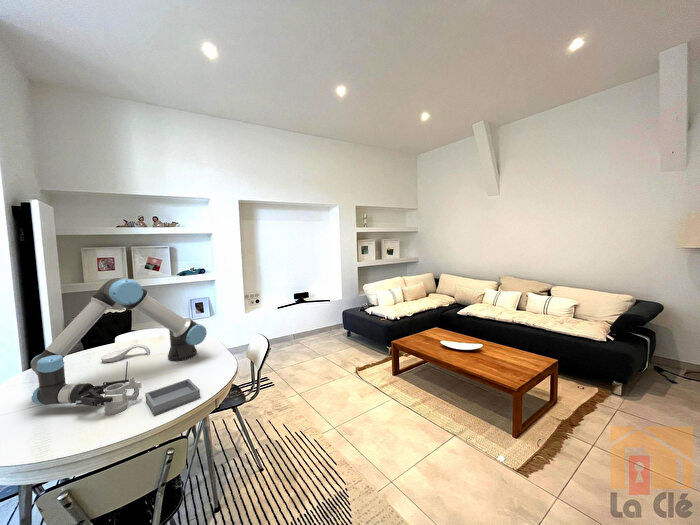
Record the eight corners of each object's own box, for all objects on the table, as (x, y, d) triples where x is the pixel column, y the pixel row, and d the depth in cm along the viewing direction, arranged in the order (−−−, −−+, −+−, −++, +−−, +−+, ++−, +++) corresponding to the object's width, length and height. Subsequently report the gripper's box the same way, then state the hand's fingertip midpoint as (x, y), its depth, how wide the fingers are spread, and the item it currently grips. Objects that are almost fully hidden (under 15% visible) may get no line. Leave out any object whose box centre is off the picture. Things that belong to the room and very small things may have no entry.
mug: (103, 410, 115) (100, 382, 115) (138, 398, 124) (136, 372, 123) (106, 417, 110) (103, 388, 110) (142, 404, 119) (140, 377, 118)
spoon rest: (98, 366, 160) (97, 354, 160) (104, 359, 171) (103, 347, 170) (148, 357, 171) (147, 346, 171) (151, 351, 182) (150, 340, 181)
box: (189, 386, 133) (188, 378, 133) (200, 398, 123) (199, 389, 122) (145, 402, 121) (145, 393, 121) (154, 416, 110) (153, 406, 110)
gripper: (101, 388, 128) (150, 386, 128) (50, 418, 105) (110, 416, 106) (99, 372, 127) (149, 370, 128) (48, 399, 105) (108, 397, 105)
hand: (131, 391), depth 117 cm, fingers closed on mug, 10 cm apart
